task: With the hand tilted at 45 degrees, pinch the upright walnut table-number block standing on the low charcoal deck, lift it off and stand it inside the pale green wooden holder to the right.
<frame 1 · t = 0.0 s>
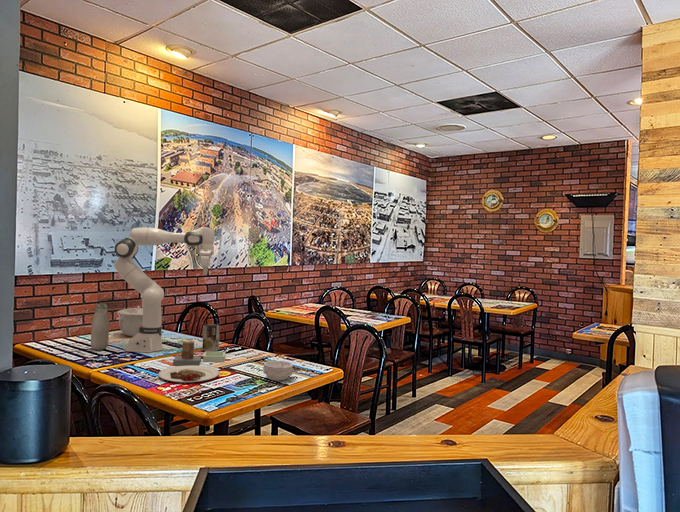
hand: (205, 274, 309), 48 cm above the table, tool pointing down, fingers open, 8 cm apart
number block: (187, 358, 276), point 3 cm above the table, touching deck
chamber pot: (137, 335, 345), on the table
deck: (187, 363, 277), on the table
plated food: (189, 376, 253), on the table
glass bottle: (99, 350, 297), on the table
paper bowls: (277, 378, 257), on the table
coffee box: (210, 350, 312), on the table
holder: (214, 359, 289), on the table
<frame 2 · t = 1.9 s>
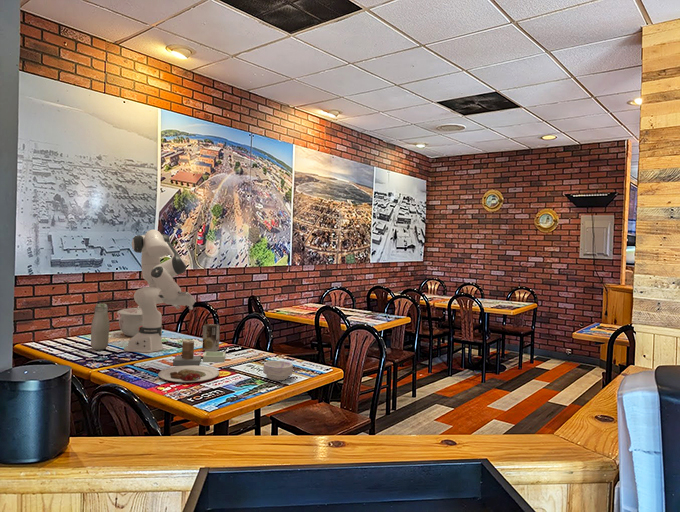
hand: (185, 308, 274), 31 cm above the table, tool tilted 45°, fingers open, 8 cm apart
nothing on the table moved.
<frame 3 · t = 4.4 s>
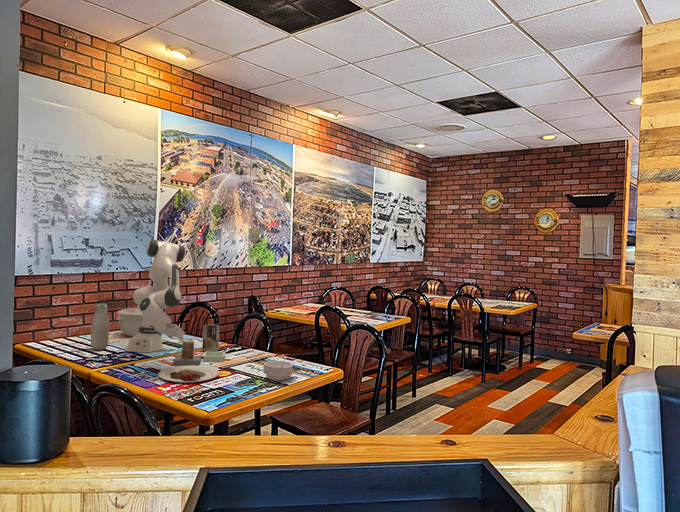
hand: (177, 338, 270), 15 cm above the table, tool tilted 45°, fingers open, 8 cm apart
nothing on the table moved.
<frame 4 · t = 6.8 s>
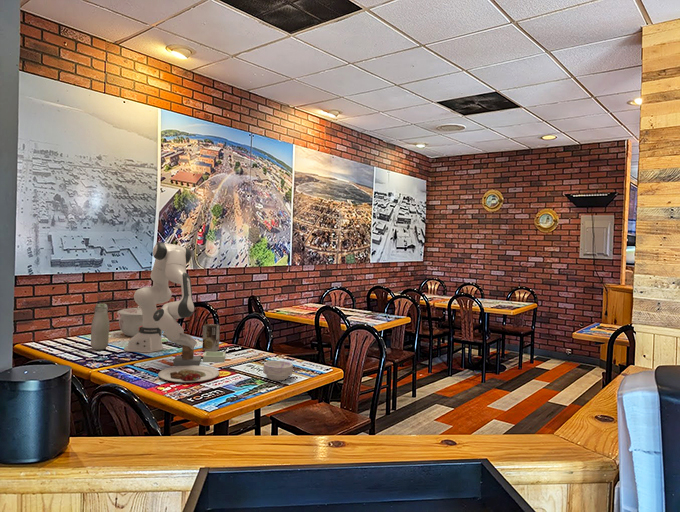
hand: (189, 347, 277), 9 cm above the table, tool tilted 45°, fingers closed on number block, 5 cm apart
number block: (187, 358, 276), point 3 cm above the table, touching deck, gripper
everything else where it was.
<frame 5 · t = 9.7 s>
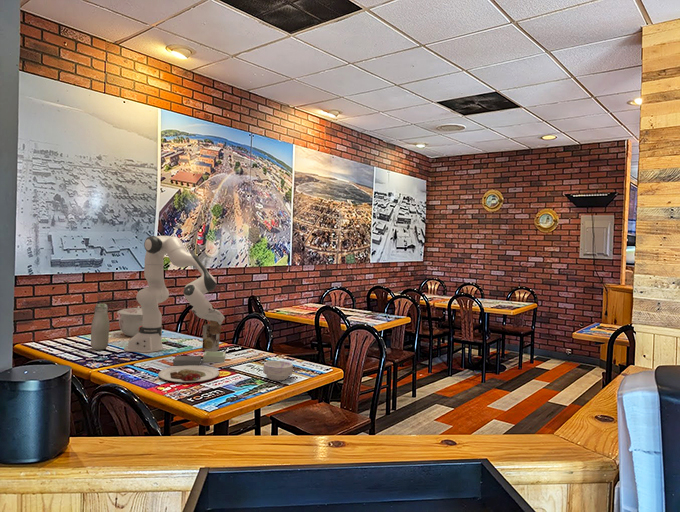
hand: (216, 323, 289), 21 cm above the table, tool tilted 45°, fingers closed on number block, 5 cm apart
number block: (215, 333, 288), point 15 cm above the table, touching gripper
everything else where it was.
when the fingers open (8 cm above the table, at t = 12.7 s): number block drops 1 cm, resting on holder.
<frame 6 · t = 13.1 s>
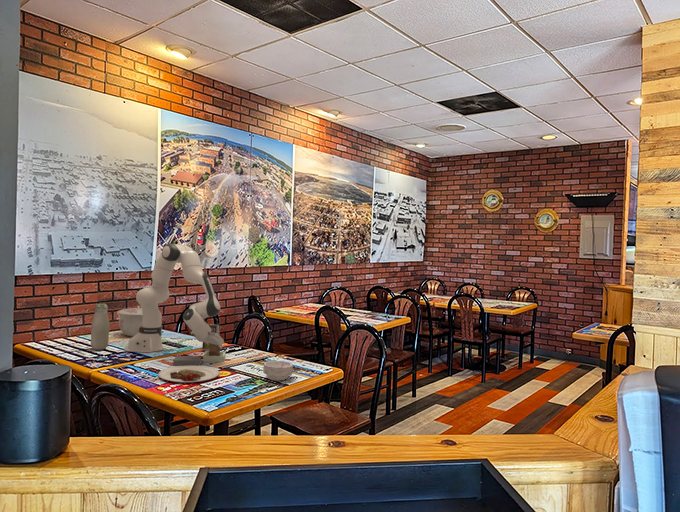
hand: (215, 345, 289), 8 cm above the table, tool tilted 45°, fingers open, 8 cm apart
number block: (214, 358, 289), point 1 cm above the table, touching holder
everything else where it was.
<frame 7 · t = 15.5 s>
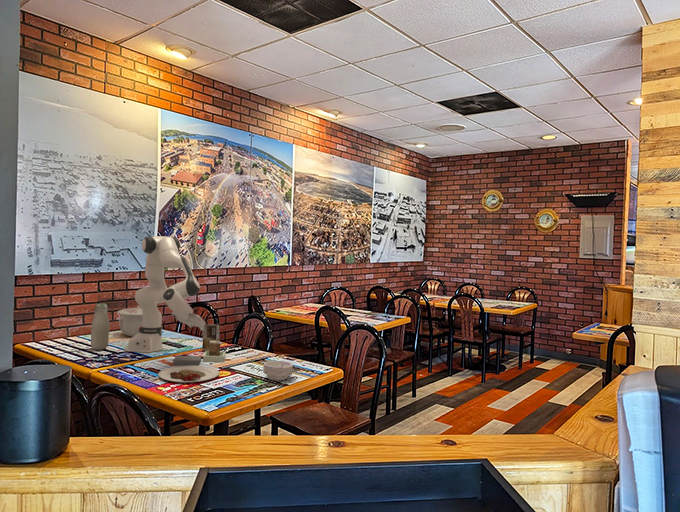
hand: (197, 328, 280), 19 cm above the table, tool tilted 45°, fingers open, 8 cm apart
nothing on the table moved.
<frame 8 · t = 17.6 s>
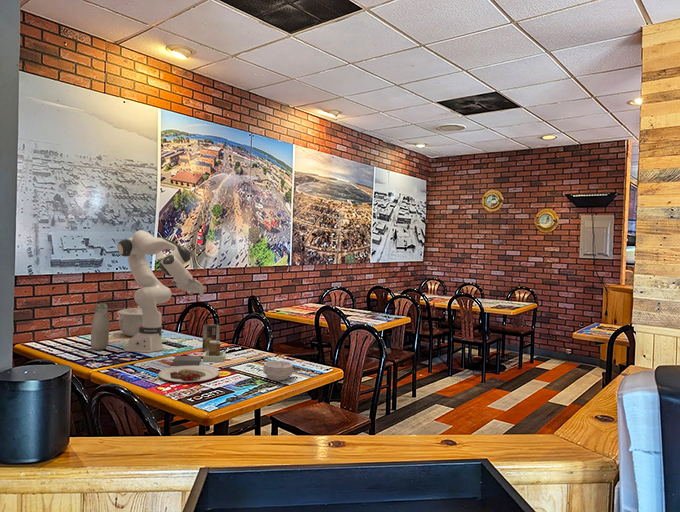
hand: (197, 294, 288), 37 cm above the table, tool tilted 45°, fingers open, 8 cm apart
nothing on the table moved.
at the end: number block inside the target area on the holder (0.1 cm from its centre), point 0.6 cm above the holder's base; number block tilted 0°; the gripper is holding nothing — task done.
